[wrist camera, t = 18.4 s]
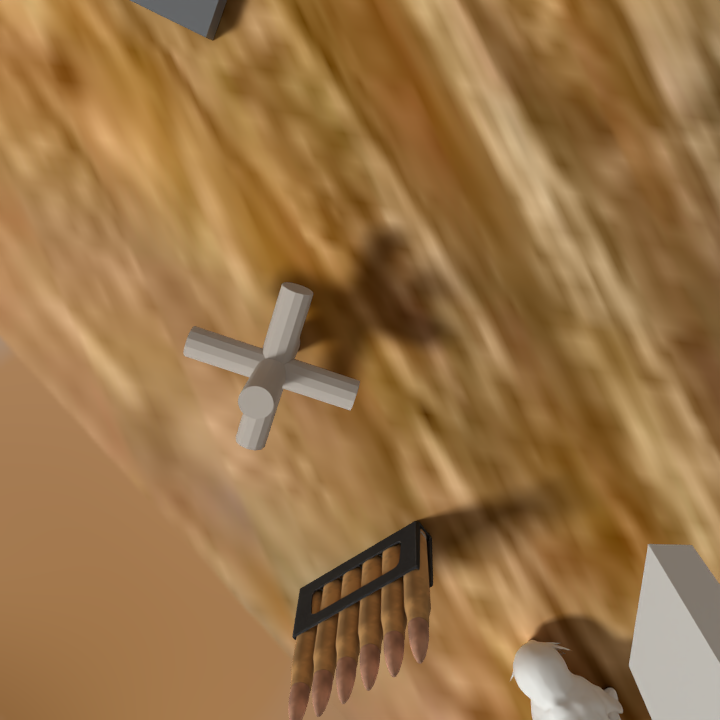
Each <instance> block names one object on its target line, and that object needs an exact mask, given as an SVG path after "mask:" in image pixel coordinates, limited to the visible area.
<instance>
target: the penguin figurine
mask: <svg viewBox="0 0 720 720" xmlns="http://www.w3.org/2000/svg"><path fill="white" fill-rule="evenodd" d="M554 644H560V643H554V642H545V643H544V642H537V641H535V640H530V641H528V642H527V643H525V644H524V645H522V646H521V647H520V649H519V650H518V651H517V653H516V655H515V659H514V662H513V674H512V677H511V679H512V678H513V676H515V679H516V682H517V684H518V686H519V687H520V689H521V690H522V691H523V692H524V693H525V694H526V695H527V696H528V697H529V698H530V699H531V712H532V719H533V720H621V718H620V716H619V714H618V713H620V714H621V713H623V708H622V706H621V704H620V703H619V702H618V696H617V693H616V691H615V690H614V689H613V688H606V689H605V690H602V688H600V687H599V686H596V685H594V684H592V683H590V682H589V681H588V680H586V679H585V678H583V677H581V676H578V675H574V674H572V673H571V672H570V671H569V670H568V668H567V665H566V663H565V661H564V659H563V658H562V656H561V655H560V654H561V653H560V654H559V653H558V651H556V650H555V649H556V648H558V649H565V650H570V649H567V648H564V647H561V646H558V645H554ZM554 648H555V649H554ZM572 651H573V650H572ZM562 653H563V652H562ZM564 654H565V653H564ZM510 681H511V680H510Z"/></svg>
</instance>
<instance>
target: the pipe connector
mask: <svg viewBox="0 0 720 720" xmlns="http://www.w3.org/2000/svg"><path fill="white" fill-rule="evenodd" d="M312 297H313V292H312V291H311V290H310V289H308V288H306V287H304V286H301V285H298V284H295V283H289V282H285V283H282V286H281V289H280V292H279V296H278V299H277V302H276V305H275V309H274V312H273V315H272V319H271V322H270V325H269V329H268V332H267V335H266V339H265V342H264V345H263V349H262V348H259V347H256V346H253V345H250V344H247V343H244V342H241V341H238V340H235V339H232V338H229V337H226V336H223V335H220V334H217V333H214V332H211V331H208V330H205V329H202V328H199V327H196V326H193V328H192V329H191V331H190V333H189V335H188V338H187V341H186V344H185V348H184V356H186V357H189V358H192V359H195V360H198V361H201V362H204V363H208V364H211V365H214V366H217V367H220V368H223V369H226V370H229V371H232V372H235V373H238V374H241V375H244V376H247V377H250V378H249V379H248V381H247V383H246V385H245V386H244V388H243V390H242V392H241V393H240V395H239V399H238V404H239V407H240V410H241V411H242V412H243V415H242V418H241V422H240V425H239V428H238V432H237V435H236V442H237V443H238V444H239V445H240V446H242V447H244V448H246V449H251V450H261V449H262V448H264V447H265V444H266V441H267V438H268V435H269V432H270V428H271V425H272V422H273V419H274V416H275V413H276V410H277V406H278V403H279V400H280V397H281V394H282V391H283V388H284V389H287V390H290V391H293V392H296V393H299V394H302V395H305V396H308V397H311V398H314V399H317V400H320V401H323V402H326V403H329V404H332V405H335V406H338V407H341V408H344V409H347V410H351V408H352V405H353V403H354V400H355V397H356V394H357V391H358V388H359V384H360V381H359V380H356V379H353V378H350V377H347V376H344V375H341V374H338V373H335V372H332V371H329V370H326V369H323V368H320V367H317V366H314V365H311V364H308V363H305V362H302V361H299V360H296V359H295V356H296V354H297V352H298V349H299V347H300V335H301V331H302V328H303V325H304V322H305V319H306V316H307V313H308V310H309V306H310V303H311V300H312Z"/></svg>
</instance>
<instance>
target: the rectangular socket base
mask: <svg viewBox="0 0 720 720" xmlns="http://www.w3.org/2000/svg"><path fill="white" fill-rule="evenodd" d="M130 1H133V2H135V3H137V4H139V5H141V6H143V7H145V8H147V9H149V10H151V11H153V12H155V13H157V14H159V15H161V16H163V17H165V18H167V19H169V20H171V21H173V22H175V23H178V24H180V25H182V26H184V27H186V28H188V29H190V30H192V31H194V32H196V33H198V34H200V35H202V36H204V37H206V38H208V39H211V40H213V39H214V36H215V33H216V31H217V28H218V25H219V22H220V19H221V16H222V13H223V10H224V7H225V4H226V2H227V0H130Z"/></svg>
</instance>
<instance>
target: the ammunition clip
mask: <svg viewBox="0 0 720 720" xmlns="http://www.w3.org/2000/svg"><path fill="white" fill-rule="evenodd" d="M432 586H433V562H432V538H431V536H430V535H429V534H428V533H427V531H426V530H425V529H424V527H423V526H422V525H421V524H420V522H419V521H414V522H413V523H411V524H409V525H408V526H406V527H404V528H403V529H401V530H399V531H397V532H396V533H394V534H392V535H391V536H389V537H387V538H386V539H384V540H382V541H380V542H379V543H377V544H375V545H374V546H372V547H370V548H369V549H367V550H365V551H364V552H362V553H360V554H358V555H357V556H355V557H353V558H352V559H350V560H348V561H347V562H345V563H343V564H341V565H340V566H338V567H336V568H335V569H333V570H331V571H330V572H328V573H326V574H324V575H323V576H321V577H319V578H318V579H316V580H314V581H313V582H311V583H309V584H308V585H306V586H304V587H302V588H301V589H300V593H299V599H298V605H297V611H296V618H295V624H294V630H293V638H294V639H295V640H296V637H297V640H296V645H295V651H294V656H293V661H292V667H291V677H292V680H291V688H290V689H291V692H290V697H289V720H302V718H303V716H304V714H305V711H306V707H307V704H308V700H309V694H310V691H311V686H312V682H313V686H312V698H313V707H314V711H315V714H316V716H317V717H320V716H321V715H322V714H323V712H324V710H325V708H326V706H327V703H328V701H329V697H330V694H331V689H332V683H333V678H334V673H335V669H336V666H337V669H336V684H337V691H338V696H339V699H340V701H341V703H342V704H345V703H346V702H347V700H348V699H349V697H350V694H351V692H352V689H353V685H354V681H355V676H356V667H357V663H358V656H359V653H360V670H361V677H362V681H363V684H364V686H365V688H366V690H368V691H369V690H371V688H372V687H373V685H374V683H375V680H376V677H377V674H378V669H379V663H380V653H381V643H382V640H383V638H384V653H385V660H386V664H387V668H388V670H389V672H390V674H391V676H392V677H396V675H397V674H398V672H399V670H400V667H401V664H402V660H403V654H404V640H405V629H406V625H407V623H408V632H409V641H410V646H411V650H412V653H413V655H414V657H415V659H416V661H417V662H418V663H422V662H423V660H424V658H425V656H426V652H427V648H428V641H429V615H430V610H431V603H430V587H432Z"/></svg>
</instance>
